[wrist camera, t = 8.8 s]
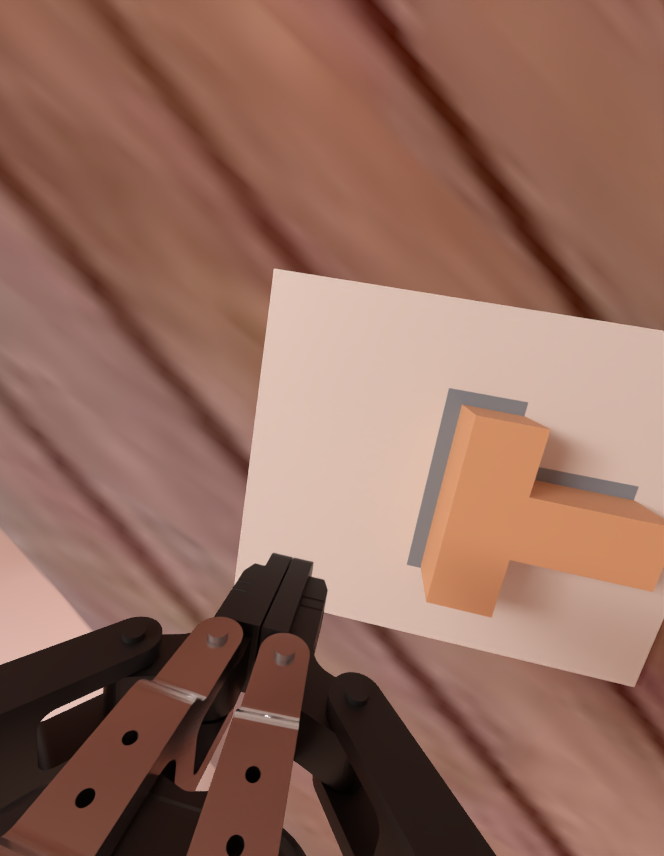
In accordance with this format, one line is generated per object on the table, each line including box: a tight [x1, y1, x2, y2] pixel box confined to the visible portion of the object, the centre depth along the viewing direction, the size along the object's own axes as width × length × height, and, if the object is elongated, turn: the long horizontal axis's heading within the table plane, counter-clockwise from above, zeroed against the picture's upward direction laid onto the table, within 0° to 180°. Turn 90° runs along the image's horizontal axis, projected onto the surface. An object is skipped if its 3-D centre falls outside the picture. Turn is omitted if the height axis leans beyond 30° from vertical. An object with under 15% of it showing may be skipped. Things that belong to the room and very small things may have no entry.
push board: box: [234, 269, 664, 687], centre depth 27 cm, size 30×24×1 cm
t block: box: [421, 404, 664, 618], centre depth 24 cm, size 12×12×4 cm
